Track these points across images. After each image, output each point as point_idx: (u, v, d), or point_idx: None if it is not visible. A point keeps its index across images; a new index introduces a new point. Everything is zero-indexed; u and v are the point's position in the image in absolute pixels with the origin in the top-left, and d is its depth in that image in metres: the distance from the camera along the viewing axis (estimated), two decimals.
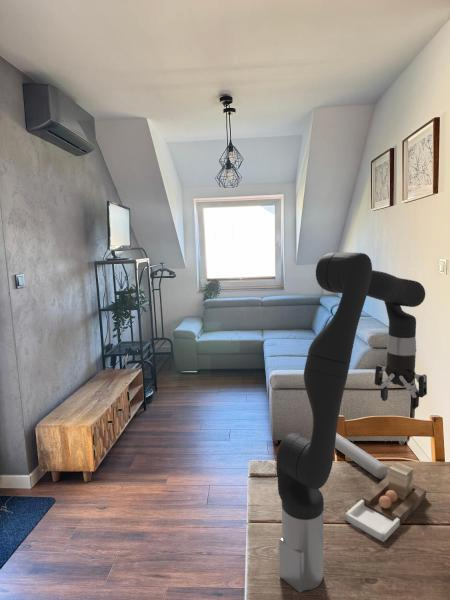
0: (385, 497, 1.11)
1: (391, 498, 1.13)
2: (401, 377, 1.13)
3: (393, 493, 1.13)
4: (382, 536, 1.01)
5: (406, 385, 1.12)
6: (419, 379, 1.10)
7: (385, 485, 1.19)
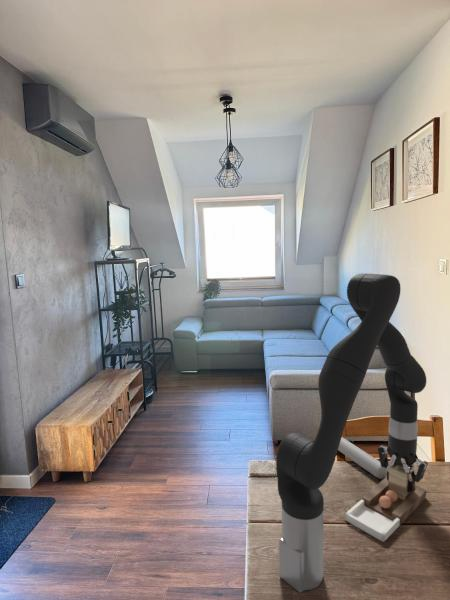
0: (385, 497, 1.11)
1: (391, 498, 1.13)
2: (403, 460, 1.14)
3: (393, 493, 1.13)
4: (382, 536, 1.01)
5: (405, 468, 1.14)
6: (420, 466, 1.11)
7: (385, 485, 1.19)
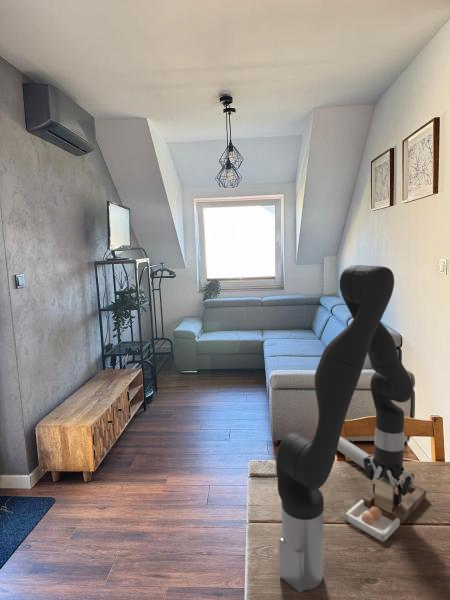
0: (369, 513, 1.06)
1: (377, 511, 1.07)
2: (389, 472, 1.08)
3: None
4: (382, 536, 1.01)
5: (391, 480, 1.08)
6: (406, 479, 1.06)
7: None
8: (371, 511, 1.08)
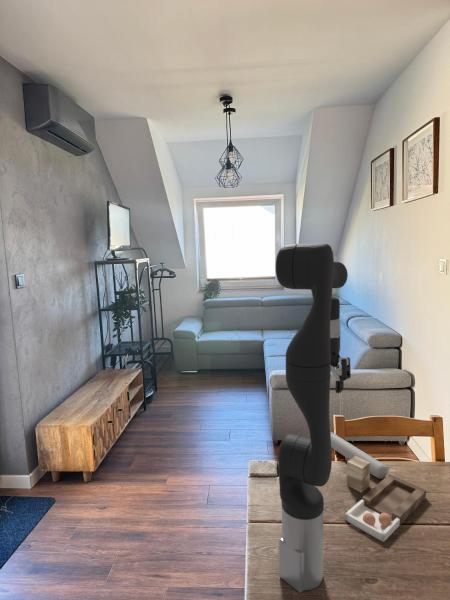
0: (371, 514, 1.06)
1: (386, 526, 1.05)
2: None
3: None
4: (382, 536, 1.01)
5: (330, 368, 1.11)
6: (342, 362, 1.08)
7: (385, 485, 1.19)
8: (384, 522, 1.04)
